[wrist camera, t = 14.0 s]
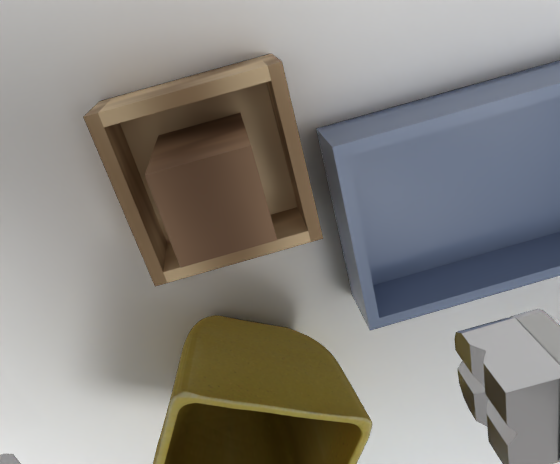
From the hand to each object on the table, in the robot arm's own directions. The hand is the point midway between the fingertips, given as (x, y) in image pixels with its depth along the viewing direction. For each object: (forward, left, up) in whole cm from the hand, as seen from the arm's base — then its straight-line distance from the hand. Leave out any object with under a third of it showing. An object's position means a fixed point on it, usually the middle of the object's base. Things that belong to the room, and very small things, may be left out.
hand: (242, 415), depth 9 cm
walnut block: (0, 0, -17) cm, 17 cm away
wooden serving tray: (0, 0, -18) cm, 18 cm away
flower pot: (+2, +12, -18) cm, 22 cm away
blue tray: (-13, +5, -18) cm, 22 cm away
